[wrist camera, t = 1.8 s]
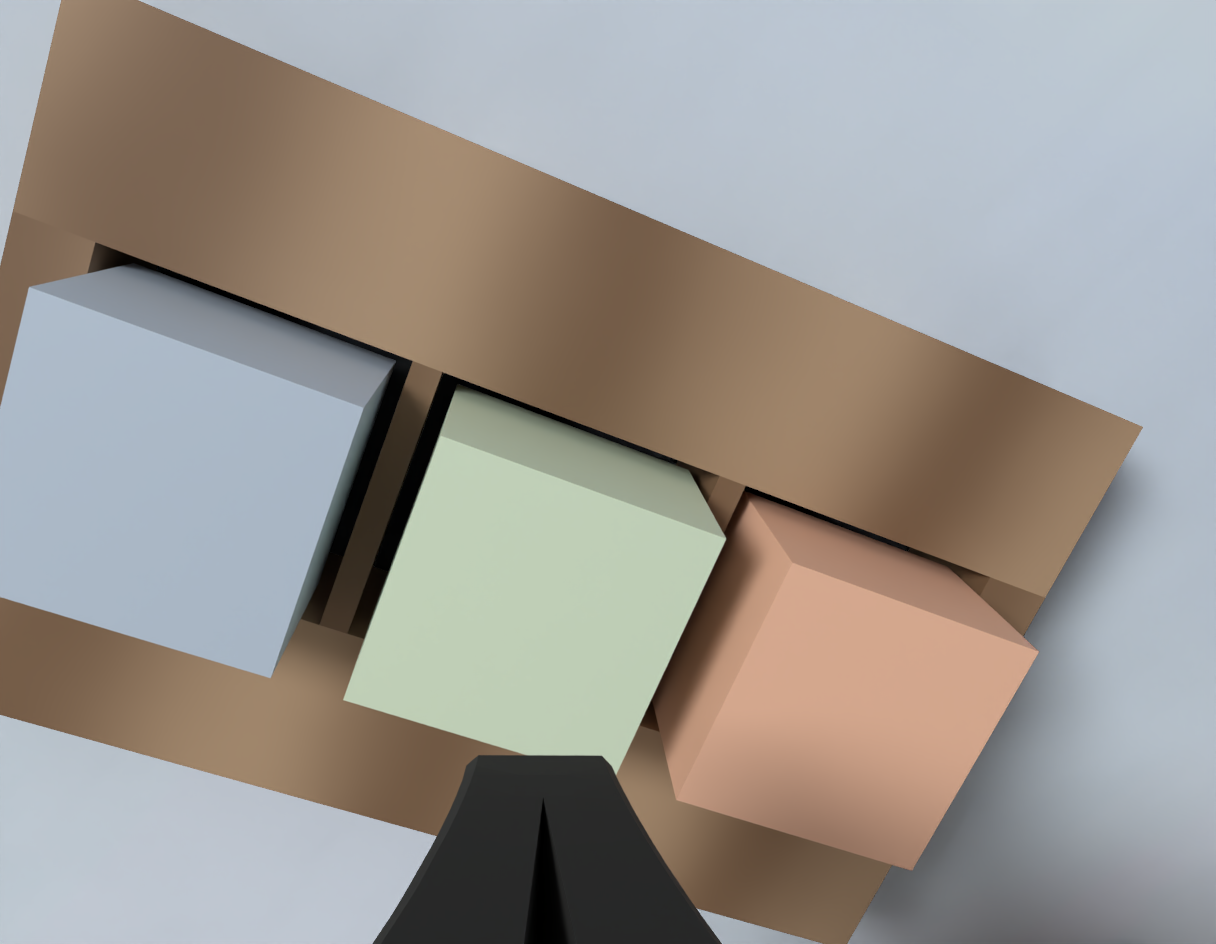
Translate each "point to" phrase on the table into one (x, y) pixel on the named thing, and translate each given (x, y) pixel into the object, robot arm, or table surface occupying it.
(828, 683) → the terracotta key
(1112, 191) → the table surface
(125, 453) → the slate key
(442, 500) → the sage key
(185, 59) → the brown wooden tray
